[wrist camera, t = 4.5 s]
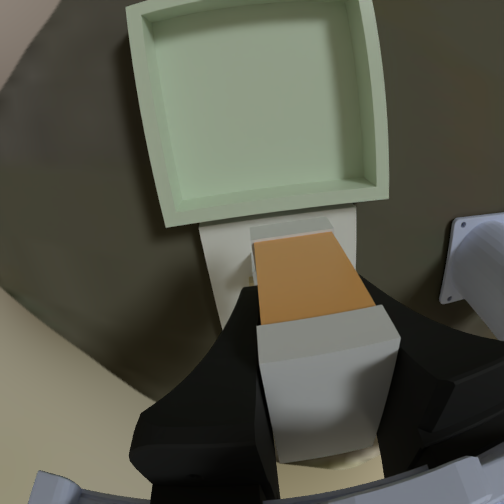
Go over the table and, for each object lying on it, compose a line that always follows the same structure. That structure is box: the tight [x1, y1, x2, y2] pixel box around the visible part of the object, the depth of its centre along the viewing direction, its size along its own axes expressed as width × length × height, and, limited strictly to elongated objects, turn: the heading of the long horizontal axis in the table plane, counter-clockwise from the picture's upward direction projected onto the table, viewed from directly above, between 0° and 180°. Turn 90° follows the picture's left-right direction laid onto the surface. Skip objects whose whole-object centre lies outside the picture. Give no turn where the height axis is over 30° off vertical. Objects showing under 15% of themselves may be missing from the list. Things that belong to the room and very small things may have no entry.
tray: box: [126, 0, 389, 228], centre depth 16 cm, size 13×13×3 cm
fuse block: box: [198, 203, 356, 330], centre depth 23 cm, size 10×18×4 cm, turn 8°
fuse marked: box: [250, 217, 401, 463], centre depth 10 cm, size 3×5×7 cm, turn 9°
